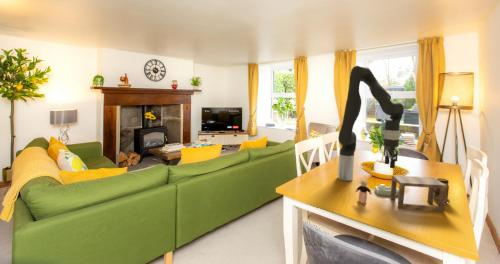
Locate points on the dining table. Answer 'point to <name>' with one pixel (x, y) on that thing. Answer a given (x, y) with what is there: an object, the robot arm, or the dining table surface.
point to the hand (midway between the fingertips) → (389, 165)
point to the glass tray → (385, 190)
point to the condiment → (437, 191)
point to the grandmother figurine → (363, 192)
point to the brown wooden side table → (419, 182)
